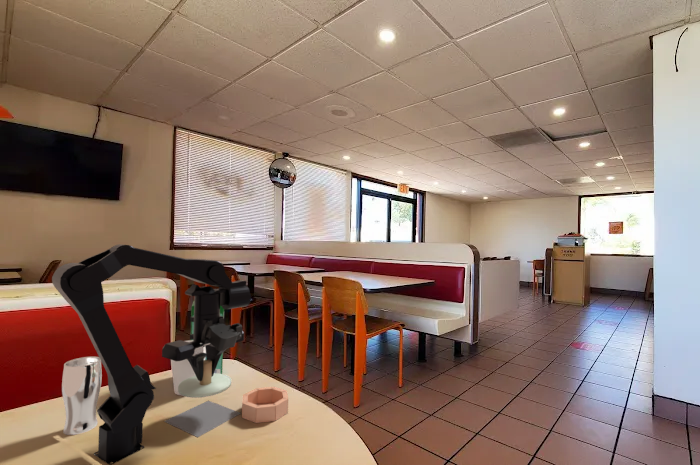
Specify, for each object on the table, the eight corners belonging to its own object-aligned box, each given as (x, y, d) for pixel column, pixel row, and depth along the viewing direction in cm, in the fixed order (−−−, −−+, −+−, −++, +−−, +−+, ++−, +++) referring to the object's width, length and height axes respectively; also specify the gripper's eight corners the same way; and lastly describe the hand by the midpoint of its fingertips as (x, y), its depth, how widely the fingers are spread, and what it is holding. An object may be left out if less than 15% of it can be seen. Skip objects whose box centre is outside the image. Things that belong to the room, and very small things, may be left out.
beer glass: (106, 427, 78) (108, 360, 78) (68, 442, 72) (71, 369, 72) (91, 418, 81) (93, 354, 82) (54, 432, 75) (56, 363, 76)
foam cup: (212, 386, 100) (213, 341, 100) (194, 401, 91) (196, 351, 91) (180, 384, 101) (182, 339, 101) (160, 398, 92) (162, 349, 92)
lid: (200, 402, 74) (200, 375, 74) (167, 389, 80) (167, 364, 80) (241, 383, 84) (242, 359, 84) (209, 372, 90) (210, 350, 90)
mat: (197, 439, 74) (197, 437, 74) (163, 423, 80) (163, 421, 80) (241, 415, 84) (241, 413, 84) (208, 402, 90) (208, 400, 90)
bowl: (265, 429, 78) (266, 411, 78) (232, 416, 84) (232, 399, 84) (296, 409, 88) (296, 393, 88) (264, 398, 93) (264, 383, 93)
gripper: (194, 325, 70) (192, 403, 70) (260, 309, 87) (259, 372, 86) (161, 318, 76) (159, 390, 76) (229, 304, 92) (228, 363, 92)
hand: (205, 378), depth 82 cm, fingers closed on lid, 3 cm apart
